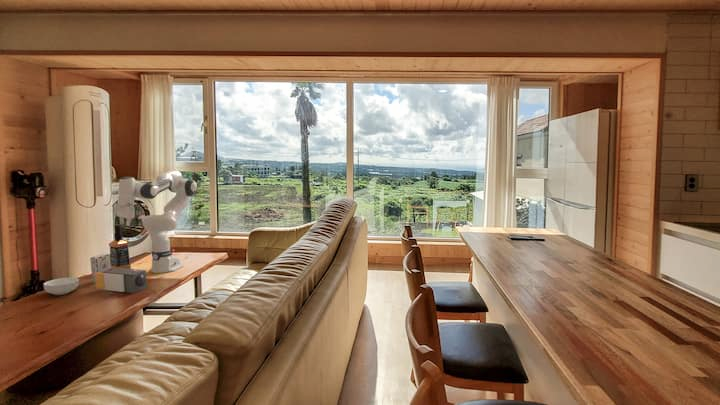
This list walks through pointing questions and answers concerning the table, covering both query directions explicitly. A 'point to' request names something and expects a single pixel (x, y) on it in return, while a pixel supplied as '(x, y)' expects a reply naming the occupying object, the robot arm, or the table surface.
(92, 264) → the candy bar box
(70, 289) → the cereal bowl
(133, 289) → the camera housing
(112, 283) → the side door
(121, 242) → the whiskey bottle
